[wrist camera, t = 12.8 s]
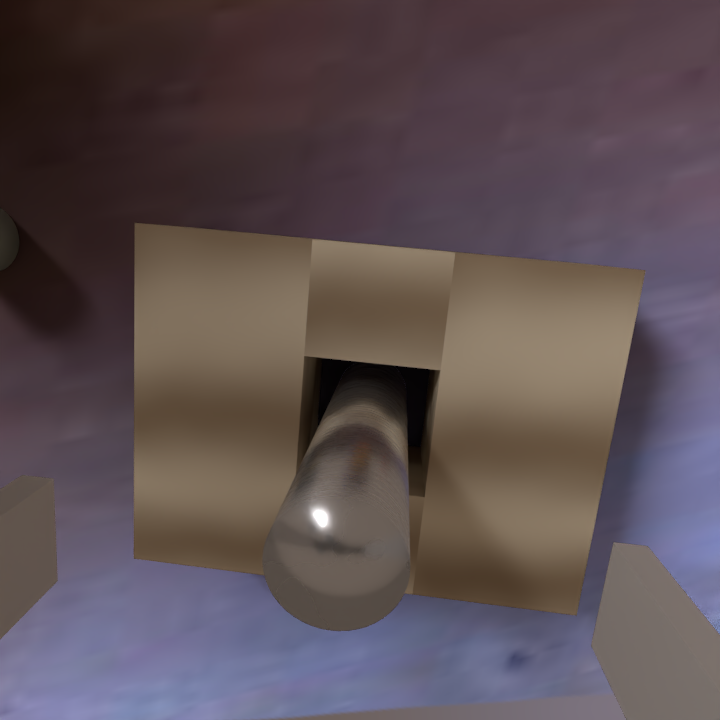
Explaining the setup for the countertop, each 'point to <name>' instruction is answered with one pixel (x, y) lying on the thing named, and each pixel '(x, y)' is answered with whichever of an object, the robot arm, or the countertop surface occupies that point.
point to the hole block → (390, 347)
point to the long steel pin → (347, 509)
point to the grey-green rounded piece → (7, 240)
